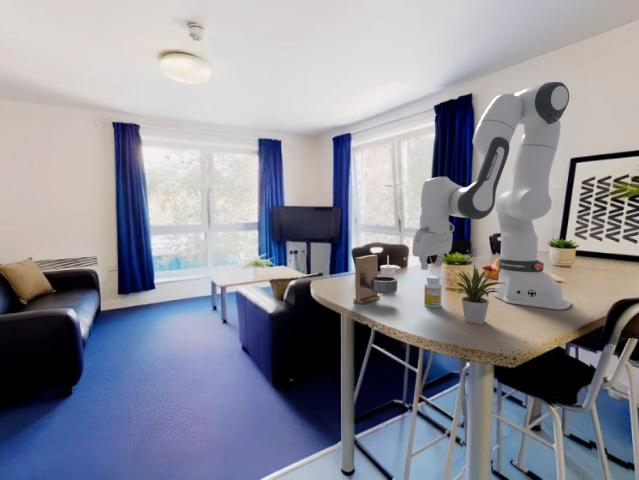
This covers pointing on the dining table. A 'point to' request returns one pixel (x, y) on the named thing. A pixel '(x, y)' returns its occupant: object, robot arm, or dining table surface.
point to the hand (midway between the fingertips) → (431, 267)
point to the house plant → (476, 296)
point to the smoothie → (388, 269)
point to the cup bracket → (371, 280)
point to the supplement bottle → (433, 292)
